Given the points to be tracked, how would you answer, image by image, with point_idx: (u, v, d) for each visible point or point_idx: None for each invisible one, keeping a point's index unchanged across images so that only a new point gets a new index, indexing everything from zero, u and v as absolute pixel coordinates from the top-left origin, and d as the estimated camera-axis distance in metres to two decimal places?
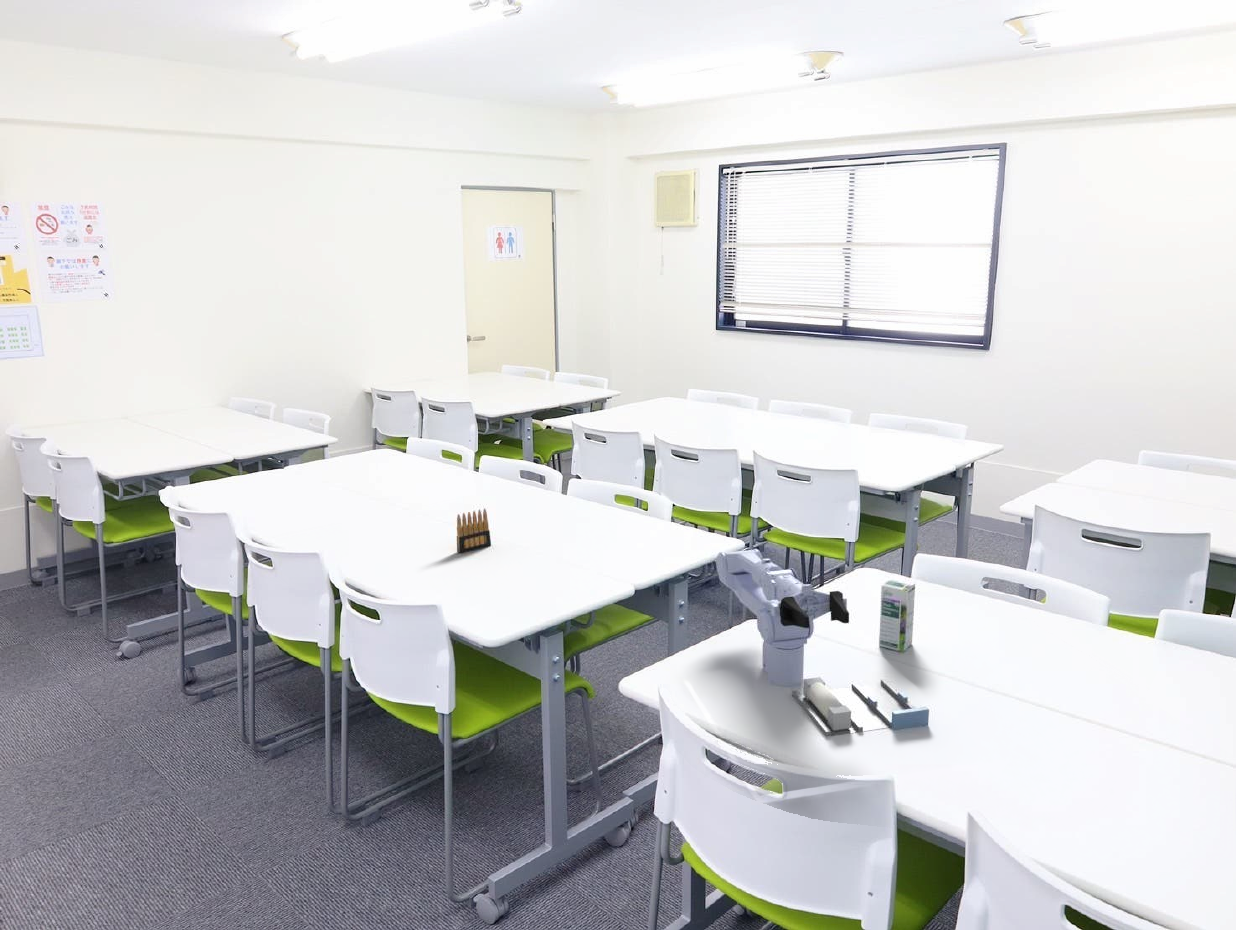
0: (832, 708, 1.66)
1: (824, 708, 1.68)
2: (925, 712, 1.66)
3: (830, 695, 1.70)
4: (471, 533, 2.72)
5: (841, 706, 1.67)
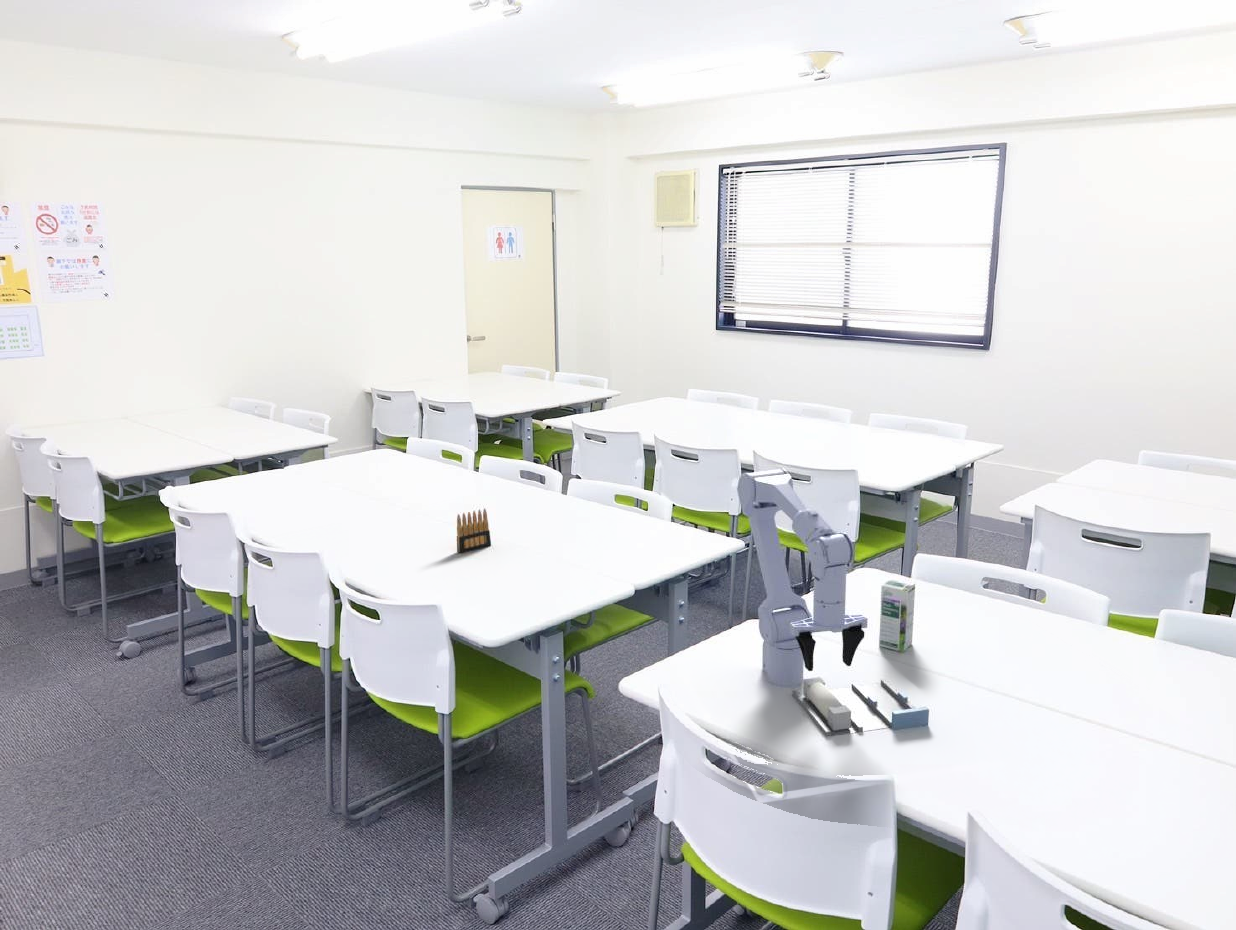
0: (832, 708, 1.66)
1: (824, 708, 1.68)
2: (925, 712, 1.66)
3: (830, 695, 1.70)
4: (471, 533, 2.72)
5: (841, 706, 1.67)
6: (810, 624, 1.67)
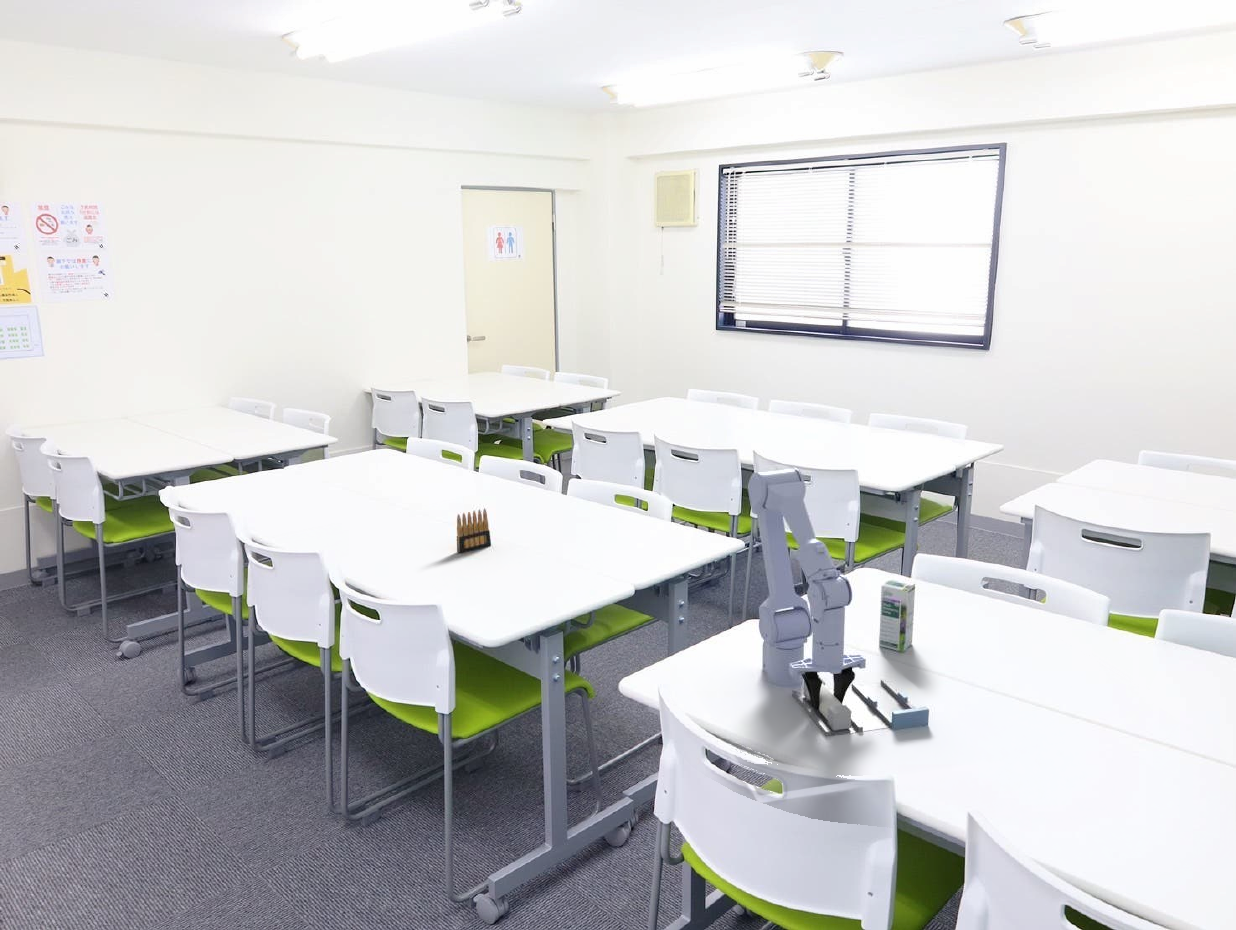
0: (832, 708, 1.66)
1: (824, 708, 1.68)
2: (925, 712, 1.66)
3: (830, 695, 1.70)
4: (471, 533, 2.72)
5: (841, 706, 1.67)
6: (809, 665, 1.69)
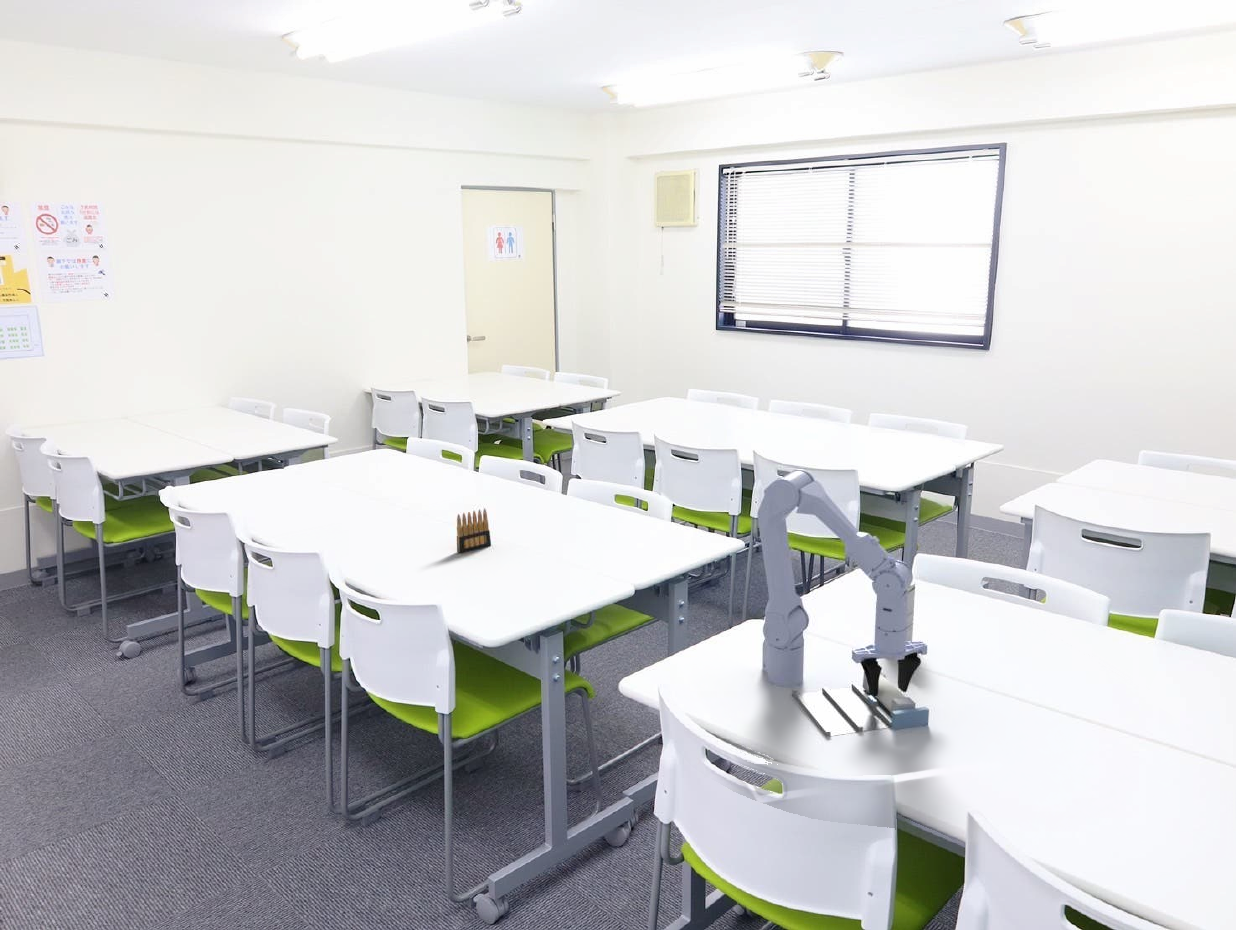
0: (896, 699, 1.68)
1: (887, 699, 1.70)
2: (925, 712, 1.66)
3: (893, 687, 1.73)
4: (471, 533, 2.72)
5: (905, 698, 1.69)
6: (872, 651, 1.71)
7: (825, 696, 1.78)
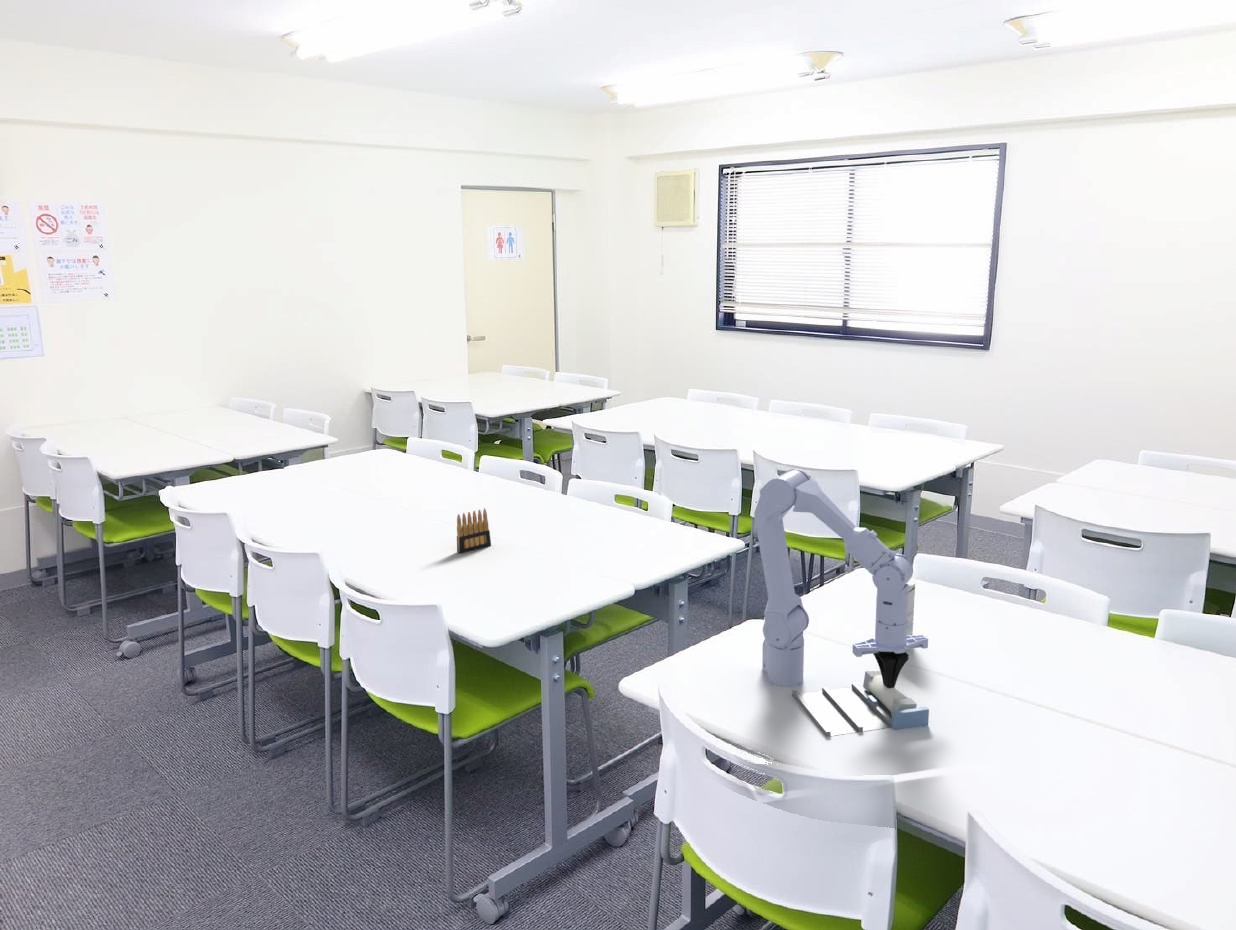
0: (898, 699, 1.68)
1: (889, 699, 1.70)
2: (925, 712, 1.66)
3: (894, 687, 1.73)
4: (471, 533, 2.72)
5: (906, 698, 1.69)
6: (872, 645, 1.70)
7: (825, 696, 1.78)
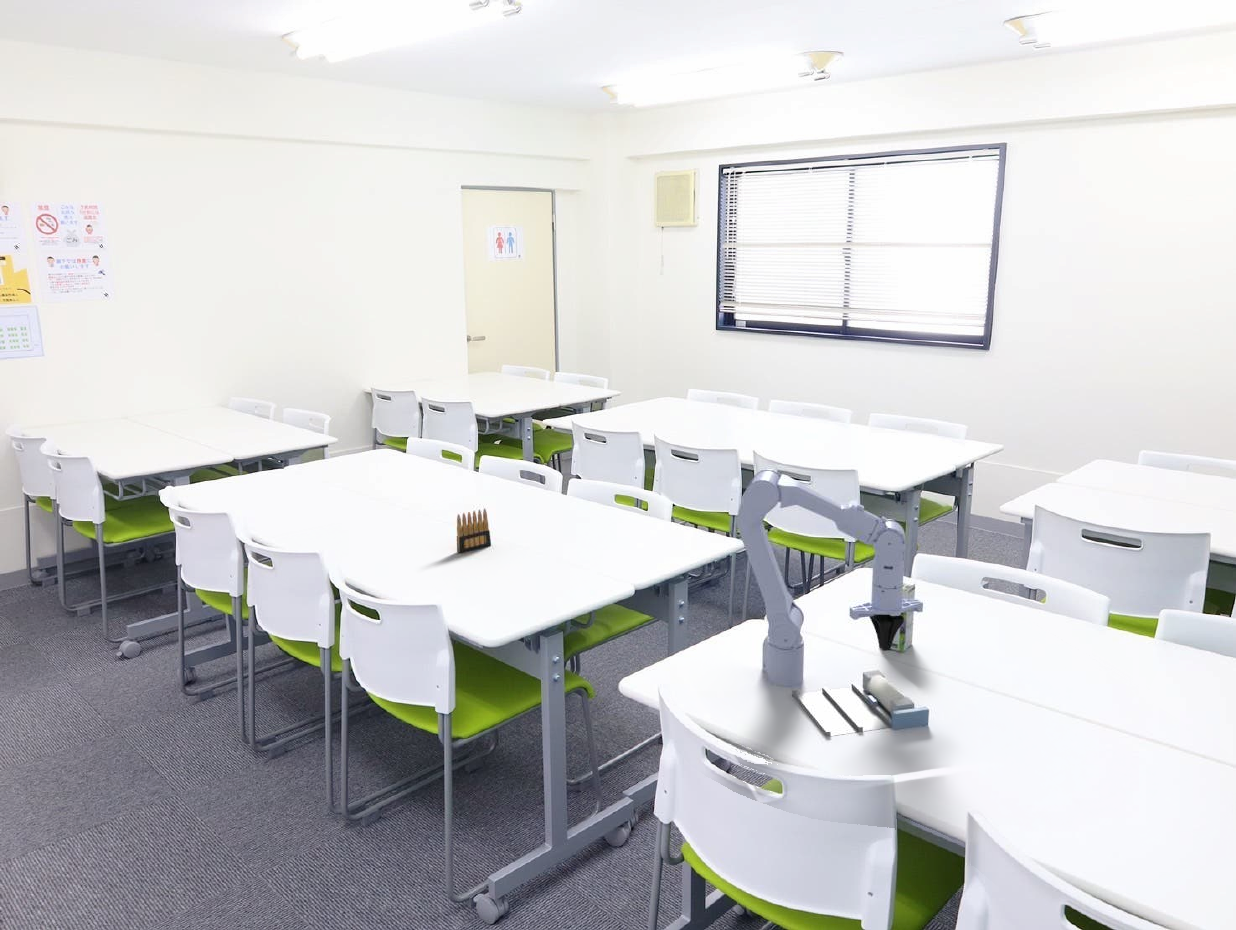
0: (895, 700, 1.68)
1: (887, 700, 1.70)
2: (925, 712, 1.66)
3: (891, 687, 1.72)
4: (471, 533, 2.72)
5: (903, 698, 1.69)
6: (869, 608, 1.75)
7: (825, 696, 1.78)
